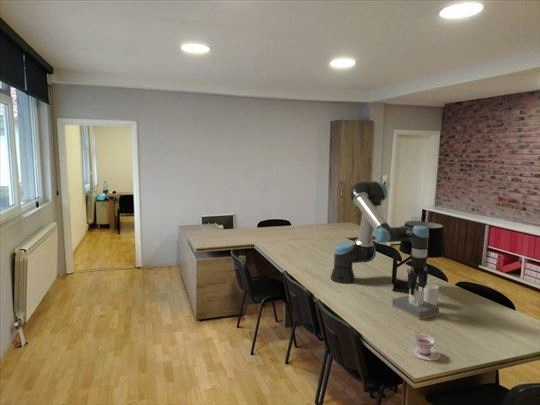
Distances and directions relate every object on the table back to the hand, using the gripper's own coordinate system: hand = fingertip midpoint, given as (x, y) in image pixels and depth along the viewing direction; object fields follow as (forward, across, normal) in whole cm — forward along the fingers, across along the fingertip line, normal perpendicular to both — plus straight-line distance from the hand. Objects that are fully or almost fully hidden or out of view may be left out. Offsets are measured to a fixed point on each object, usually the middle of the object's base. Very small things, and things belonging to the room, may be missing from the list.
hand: (416, 299), depth 193 cm
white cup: (+6, +15, +3) cm, 17 cm away
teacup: (+7, -30, -31) cm, 44 cm away
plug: (+5, 0, 0) cm, 5 cm away
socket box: (+6, 0, 0) cm, 6 cm away
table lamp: (+6, +26, +22) cm, 35 cm away
